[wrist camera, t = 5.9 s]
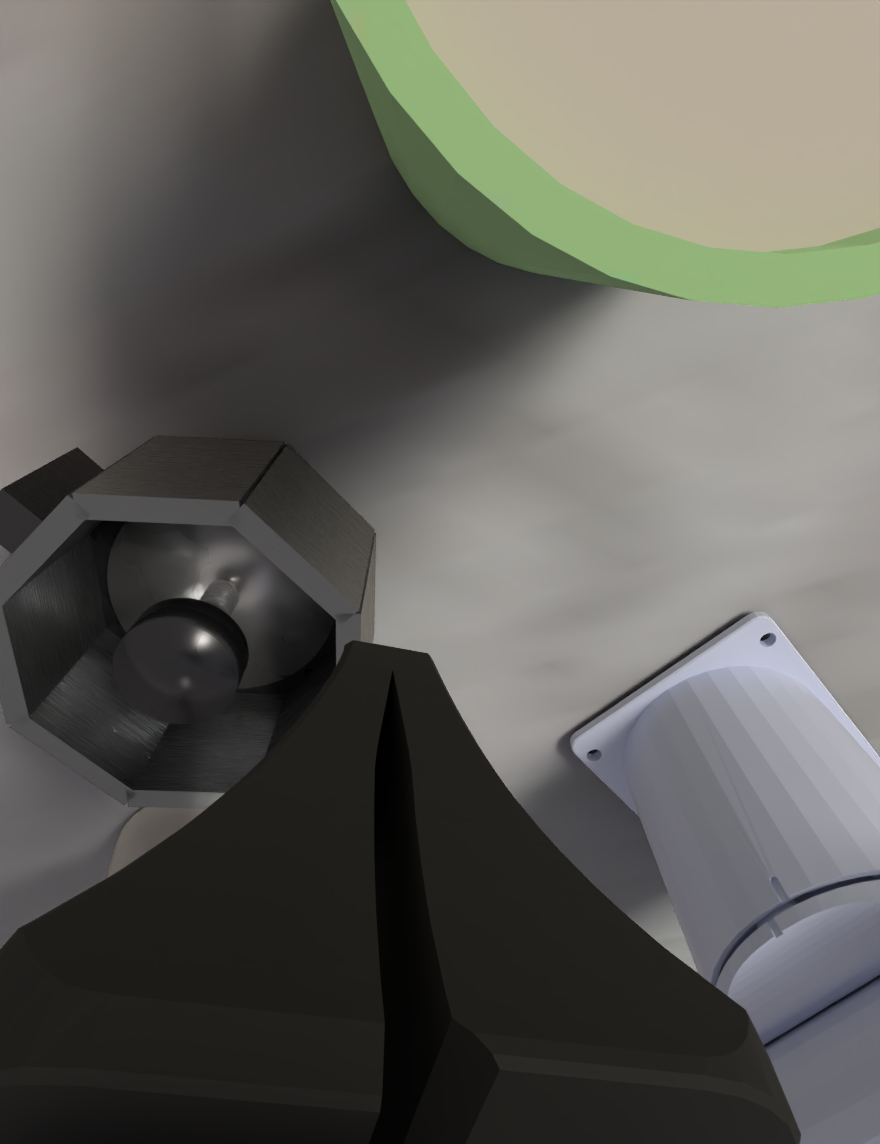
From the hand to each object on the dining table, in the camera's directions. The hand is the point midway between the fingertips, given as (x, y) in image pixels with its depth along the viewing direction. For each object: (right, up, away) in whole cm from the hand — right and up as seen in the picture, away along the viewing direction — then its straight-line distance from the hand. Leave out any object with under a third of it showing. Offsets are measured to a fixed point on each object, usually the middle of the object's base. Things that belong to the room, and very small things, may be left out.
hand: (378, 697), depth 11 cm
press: (-6, +2, +11) cm, 12 cm away
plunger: (-6, +1, +10) cm, 12 cm away
